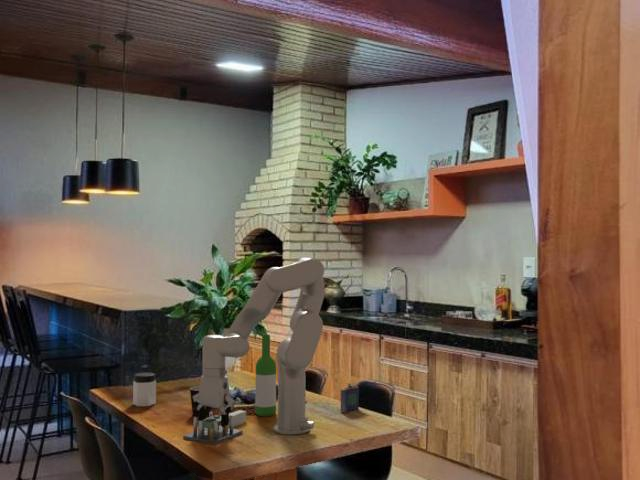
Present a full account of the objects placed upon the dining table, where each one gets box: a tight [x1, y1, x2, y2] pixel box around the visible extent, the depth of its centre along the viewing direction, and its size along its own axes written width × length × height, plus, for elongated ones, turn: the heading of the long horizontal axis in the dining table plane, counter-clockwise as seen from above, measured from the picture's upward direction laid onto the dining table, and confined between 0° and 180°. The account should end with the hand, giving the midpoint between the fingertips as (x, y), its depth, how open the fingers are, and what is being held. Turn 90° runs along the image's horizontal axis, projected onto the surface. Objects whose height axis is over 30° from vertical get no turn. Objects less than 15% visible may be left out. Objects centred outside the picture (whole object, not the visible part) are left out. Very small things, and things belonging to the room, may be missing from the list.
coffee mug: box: [189, 385, 213, 418], centre depth 242 cm, size 12×9×10 cm
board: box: [197, 414, 230, 429], centre depth 214 cm, size 6×10×2 cm, turn 150°
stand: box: [228, 409, 247, 428], centre depth 229 cm, size 3×8×4 cm, turn 150°
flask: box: [339, 382, 360, 414], centre depth 249 cm, size 9×3×11 cm, turn 133°
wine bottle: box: [254, 334, 277, 417], centre depth 243 cm, size 8×8×30 cm
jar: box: [132, 372, 157, 407], centre depth 258 cm, size 9×8×12 cm
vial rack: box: [182, 411, 244, 446], centre depth 214 cm, size 13×15×6 cm
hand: (213, 423), depth 214 cm, fingers open, 9 cm apart
